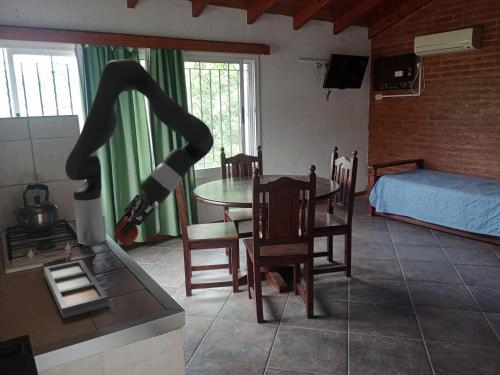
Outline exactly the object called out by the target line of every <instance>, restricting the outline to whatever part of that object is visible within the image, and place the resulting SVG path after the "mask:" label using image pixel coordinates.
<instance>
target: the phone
mask: <svg viewBox="0 0 500 375" xmlns="http://www.w3.org/2000/svg"><path fill="white" fill-rule="evenodd" d="M69 262H71V257H67V258H63V259H58V260H55V261H52V262H47V263H44V262H43V264H42V267H41V269H42V271H43V272H44V267H49V266H54V265H59V264H64V263H69Z"/></svg>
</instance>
